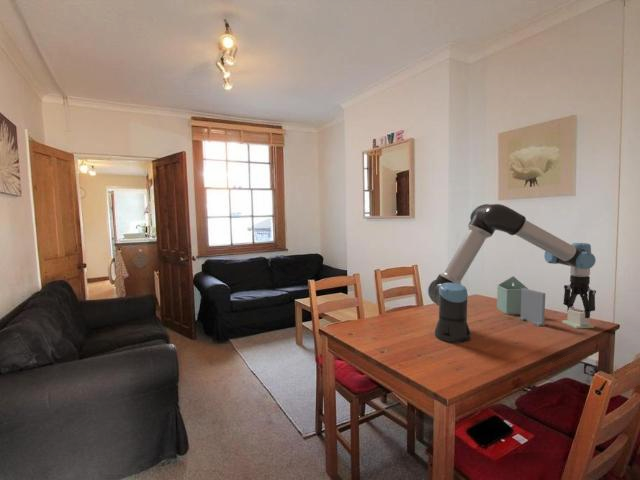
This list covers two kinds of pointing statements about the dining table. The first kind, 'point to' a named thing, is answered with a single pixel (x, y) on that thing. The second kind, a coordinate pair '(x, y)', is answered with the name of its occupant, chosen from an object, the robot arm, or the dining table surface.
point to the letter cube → (575, 316)
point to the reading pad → (578, 325)
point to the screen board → (532, 306)
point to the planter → (509, 296)
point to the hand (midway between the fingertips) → (578, 322)
